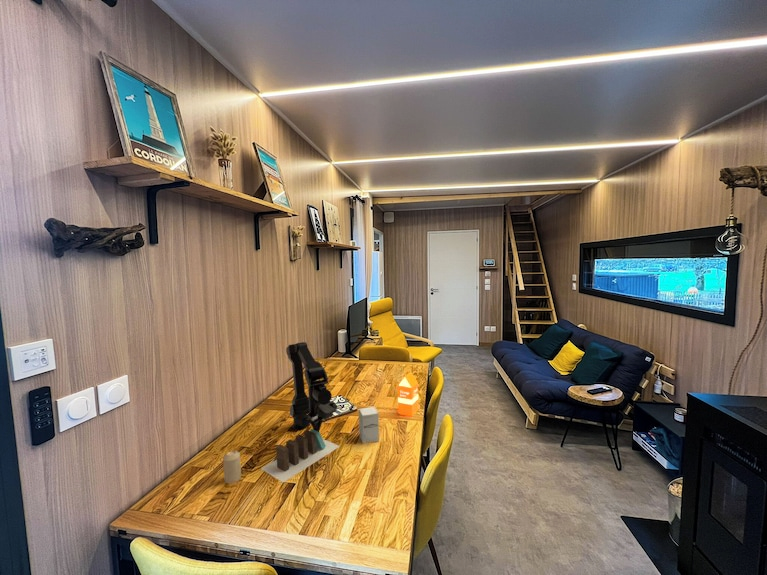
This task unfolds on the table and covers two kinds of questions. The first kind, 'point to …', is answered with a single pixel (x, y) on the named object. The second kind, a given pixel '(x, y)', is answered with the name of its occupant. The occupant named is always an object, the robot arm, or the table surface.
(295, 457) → the domino
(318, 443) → the domino
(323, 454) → the mat
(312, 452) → the domino
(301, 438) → the domino
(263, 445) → the table surface
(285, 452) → the domino
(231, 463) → the candle
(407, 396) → the orange juice
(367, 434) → the supplement box
